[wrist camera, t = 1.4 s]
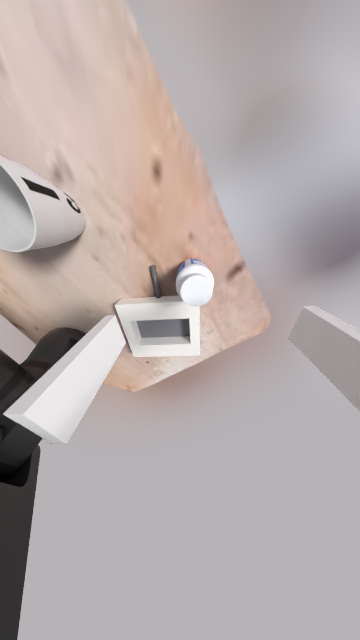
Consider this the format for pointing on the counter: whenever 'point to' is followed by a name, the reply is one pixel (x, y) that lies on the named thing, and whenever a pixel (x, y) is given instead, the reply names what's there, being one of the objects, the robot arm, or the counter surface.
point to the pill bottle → (194, 282)
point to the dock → (160, 324)
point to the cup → (34, 211)
